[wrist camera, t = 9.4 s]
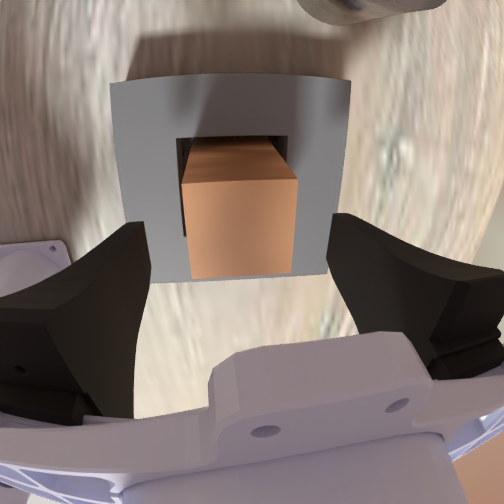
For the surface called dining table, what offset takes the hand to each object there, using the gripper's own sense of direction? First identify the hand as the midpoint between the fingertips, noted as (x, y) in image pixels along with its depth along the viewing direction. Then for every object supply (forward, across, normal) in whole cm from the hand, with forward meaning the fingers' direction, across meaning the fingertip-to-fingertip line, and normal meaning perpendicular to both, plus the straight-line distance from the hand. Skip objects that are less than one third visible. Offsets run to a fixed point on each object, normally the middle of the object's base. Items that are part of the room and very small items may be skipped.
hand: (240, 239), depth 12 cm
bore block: (+8, 0, 0) cm, 8 cm away
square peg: (+8, 0, 0) cm, 8 cm away
